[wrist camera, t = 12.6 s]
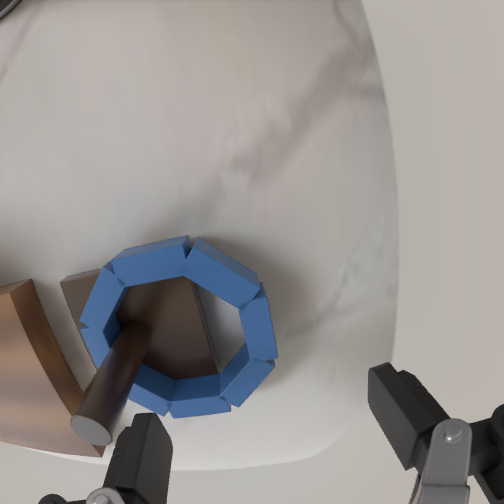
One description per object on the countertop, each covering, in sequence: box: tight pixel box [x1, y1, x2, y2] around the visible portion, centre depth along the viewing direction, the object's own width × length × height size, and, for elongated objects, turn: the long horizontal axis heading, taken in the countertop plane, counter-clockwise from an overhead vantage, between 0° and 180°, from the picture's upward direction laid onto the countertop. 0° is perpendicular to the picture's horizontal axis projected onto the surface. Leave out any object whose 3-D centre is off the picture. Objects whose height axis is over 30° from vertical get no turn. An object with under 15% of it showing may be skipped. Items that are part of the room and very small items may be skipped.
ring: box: [80, 235, 278, 418], centre depth 17 cm, size 11×11×2 cm
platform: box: [0, 279, 106, 457], centre depth 18 cm, size 16×16×3 cm
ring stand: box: [60, 268, 220, 446], centre depth 14 cm, size 9×9×10 cm
